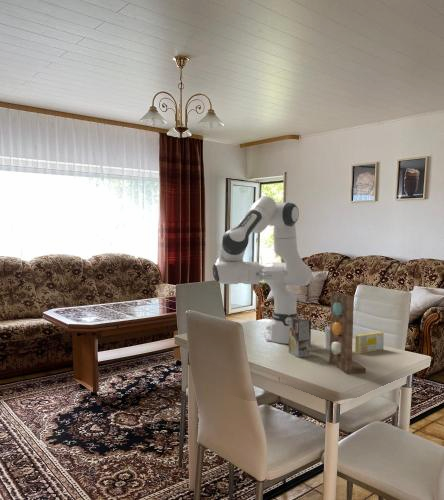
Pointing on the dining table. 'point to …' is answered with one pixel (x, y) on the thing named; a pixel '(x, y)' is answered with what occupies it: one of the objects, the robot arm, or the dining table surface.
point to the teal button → (338, 308)
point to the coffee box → (299, 336)
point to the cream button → (336, 347)
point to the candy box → (369, 342)
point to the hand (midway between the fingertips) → (287, 273)
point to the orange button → (337, 328)
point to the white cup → (327, 337)
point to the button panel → (344, 335)
